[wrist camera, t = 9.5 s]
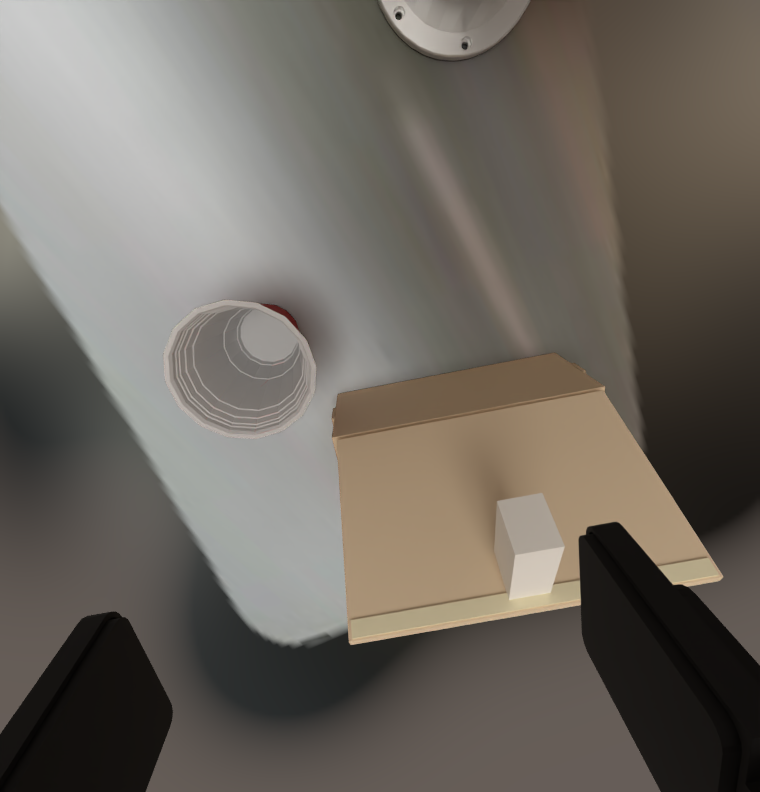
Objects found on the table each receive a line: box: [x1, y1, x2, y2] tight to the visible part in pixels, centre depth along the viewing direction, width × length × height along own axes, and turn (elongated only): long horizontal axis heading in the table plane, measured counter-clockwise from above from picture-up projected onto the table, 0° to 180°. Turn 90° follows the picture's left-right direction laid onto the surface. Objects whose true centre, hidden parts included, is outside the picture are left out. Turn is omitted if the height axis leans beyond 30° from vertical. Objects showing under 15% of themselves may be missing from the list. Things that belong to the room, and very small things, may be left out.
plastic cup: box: [163, 300, 316, 439], centre depth 38 cm, size 11×11×12 cm
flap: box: [337, 390, 723, 645], centre depth 29 cm, size 15×21×7 cm
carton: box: [332, 353, 605, 460], centre depth 44 cm, size 16×22×10 cm
